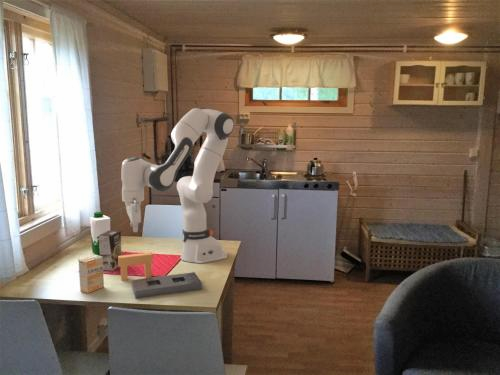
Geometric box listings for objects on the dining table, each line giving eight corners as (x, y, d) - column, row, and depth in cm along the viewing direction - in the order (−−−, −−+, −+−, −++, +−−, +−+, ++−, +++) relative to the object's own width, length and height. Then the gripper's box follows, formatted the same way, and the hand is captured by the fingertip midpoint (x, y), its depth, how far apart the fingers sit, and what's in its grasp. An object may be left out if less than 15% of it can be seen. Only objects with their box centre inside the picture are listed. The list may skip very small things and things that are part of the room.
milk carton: (107, 248, 236) (105, 210, 232) (114, 253, 229) (112, 214, 225) (90, 252, 230) (87, 213, 227) (96, 256, 223) (94, 216, 220)
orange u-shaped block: (152, 274, 200) (151, 252, 199) (153, 276, 198) (152, 254, 196) (119, 278, 196) (118, 255, 194) (119, 280, 193) (118, 258, 191)
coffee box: (113, 271, 204) (111, 236, 201) (99, 270, 206) (98, 235, 203) (122, 264, 213) (121, 230, 210) (110, 263, 214) (108, 229, 211)
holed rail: (194, 278, 195) (194, 272, 195) (201, 289, 184) (201, 282, 184) (131, 287, 186) (131, 280, 186) (135, 298, 175) (135, 291, 175)
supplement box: (88, 294, 179) (86, 262, 177) (79, 291, 182) (77, 259, 180) (104, 287, 186) (103, 256, 184) (96, 284, 189) (95, 254, 186)
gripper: (144, 200, 182) (145, 234, 184) (137, 191, 201) (138, 222, 203) (127, 201, 180) (129, 236, 182) (122, 192, 199) (123, 223, 201)
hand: (134, 228), depth 193 cm, fingers open, 8 cm apart
